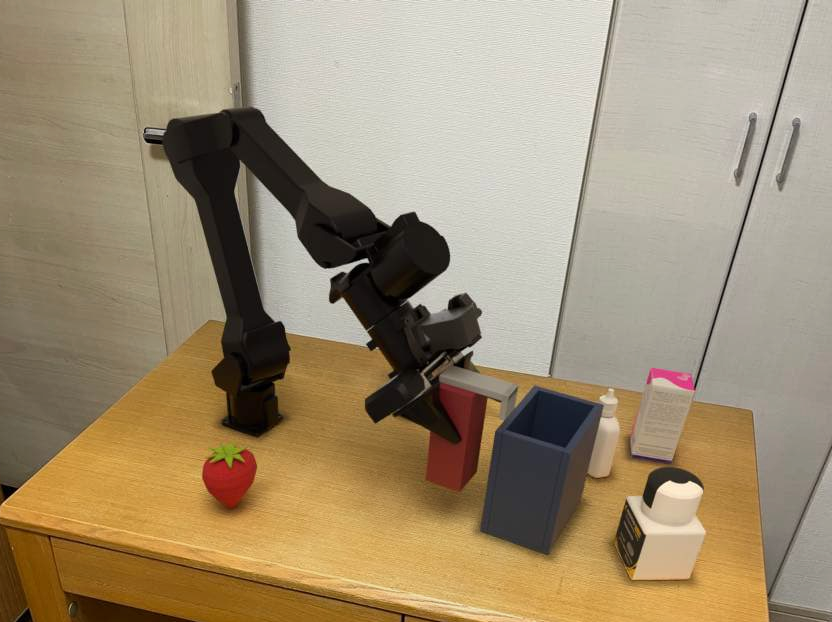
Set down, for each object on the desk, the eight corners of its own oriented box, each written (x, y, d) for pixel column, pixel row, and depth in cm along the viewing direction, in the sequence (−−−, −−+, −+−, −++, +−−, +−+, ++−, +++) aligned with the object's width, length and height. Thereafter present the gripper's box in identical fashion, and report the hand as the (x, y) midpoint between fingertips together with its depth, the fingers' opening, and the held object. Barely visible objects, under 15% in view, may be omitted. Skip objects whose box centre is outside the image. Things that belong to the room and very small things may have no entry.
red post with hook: (425, 480, 95) (435, 378, 86) (443, 461, 98) (454, 361, 90) (488, 502, 92) (504, 399, 84) (504, 481, 95) (522, 381, 87)
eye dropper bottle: (607, 459, 113) (627, 382, 105) (608, 481, 108) (629, 402, 101) (576, 454, 113) (593, 377, 106) (576, 476, 109) (594, 397, 101)
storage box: (479, 531, 98) (495, 430, 89) (517, 480, 107) (534, 385, 98) (548, 555, 95) (570, 453, 86) (580, 501, 104) (604, 404, 95)
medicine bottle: (612, 542, 98) (636, 459, 90) (668, 542, 98) (696, 459, 91) (630, 581, 92) (657, 496, 85) (689, 580, 93) (721, 496, 85)
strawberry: (269, 497, 101) (266, 428, 95) (236, 530, 95) (230, 459, 89) (229, 484, 103) (223, 416, 96) (194, 515, 97) (185, 445, 91)
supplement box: (672, 464, 112) (695, 391, 105) (629, 458, 113) (650, 385, 106) (670, 443, 117) (692, 372, 110) (629, 437, 118) (648, 366, 110)
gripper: (396, 306, 76) (488, 440, 79) (475, 251, 89) (551, 368, 92) (325, 361, 83) (412, 481, 86) (408, 302, 96) (480, 409, 100)
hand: (468, 432), depth 91 cm, fingers closed on red post with hook, 5 cm apart
